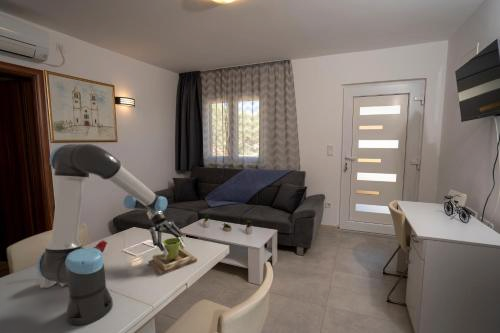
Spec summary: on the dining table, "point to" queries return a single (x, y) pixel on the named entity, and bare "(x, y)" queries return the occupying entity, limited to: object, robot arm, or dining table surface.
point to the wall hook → (46, 282)
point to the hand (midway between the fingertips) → (175, 251)
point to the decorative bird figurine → (101, 246)
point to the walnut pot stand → (171, 262)
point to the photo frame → (148, 242)
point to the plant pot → (172, 247)
